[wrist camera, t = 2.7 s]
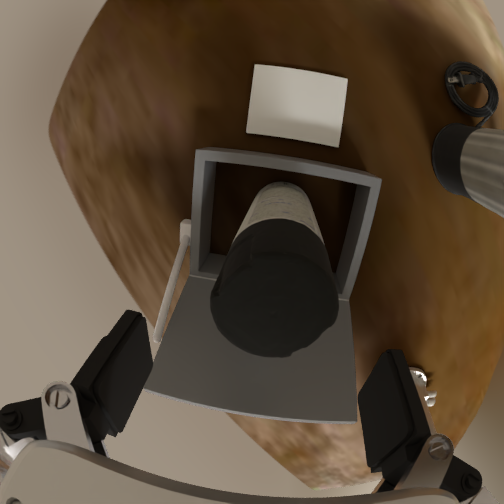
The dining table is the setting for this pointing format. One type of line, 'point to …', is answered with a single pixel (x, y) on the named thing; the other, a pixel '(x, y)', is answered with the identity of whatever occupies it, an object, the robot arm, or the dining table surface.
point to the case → (231, 357)
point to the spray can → (276, 277)
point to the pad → (297, 104)
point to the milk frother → (471, 145)
